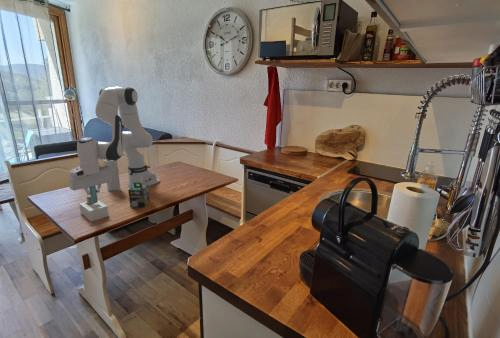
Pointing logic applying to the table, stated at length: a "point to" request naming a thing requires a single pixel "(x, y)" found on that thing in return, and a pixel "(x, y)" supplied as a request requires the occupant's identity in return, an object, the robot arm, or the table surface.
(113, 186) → the paper towel roll
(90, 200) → the beech dowel
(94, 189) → the teal dowel
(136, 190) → the chalk box
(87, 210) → the hole block
